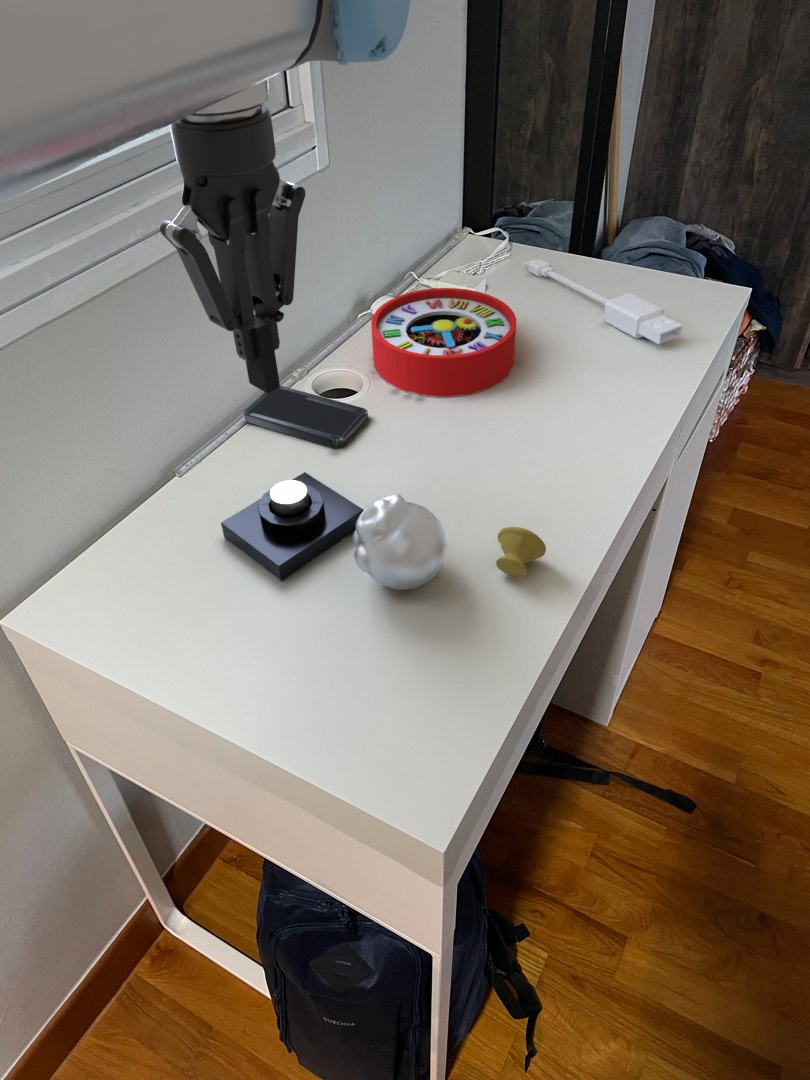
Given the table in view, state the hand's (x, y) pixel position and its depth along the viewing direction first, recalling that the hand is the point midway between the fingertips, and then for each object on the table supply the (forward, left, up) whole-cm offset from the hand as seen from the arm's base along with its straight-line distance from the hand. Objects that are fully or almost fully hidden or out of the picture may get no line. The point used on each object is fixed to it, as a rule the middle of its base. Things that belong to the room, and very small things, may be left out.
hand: (264, 385), depth 76 cm
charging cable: (+66, +6, -20) cm, 69 cm away
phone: (+16, +16, -20) cm, 30 cm away
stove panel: (+1, +1, -20) cm, 20 cm away
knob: (+13, -21, -20) cm, 32 cm away
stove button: (+1, +1, -16) cm, 16 cm away
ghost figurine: (+4, -13, -20) cm, 24 cm away
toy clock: (+39, +13, -20) cm, 46 cm away
